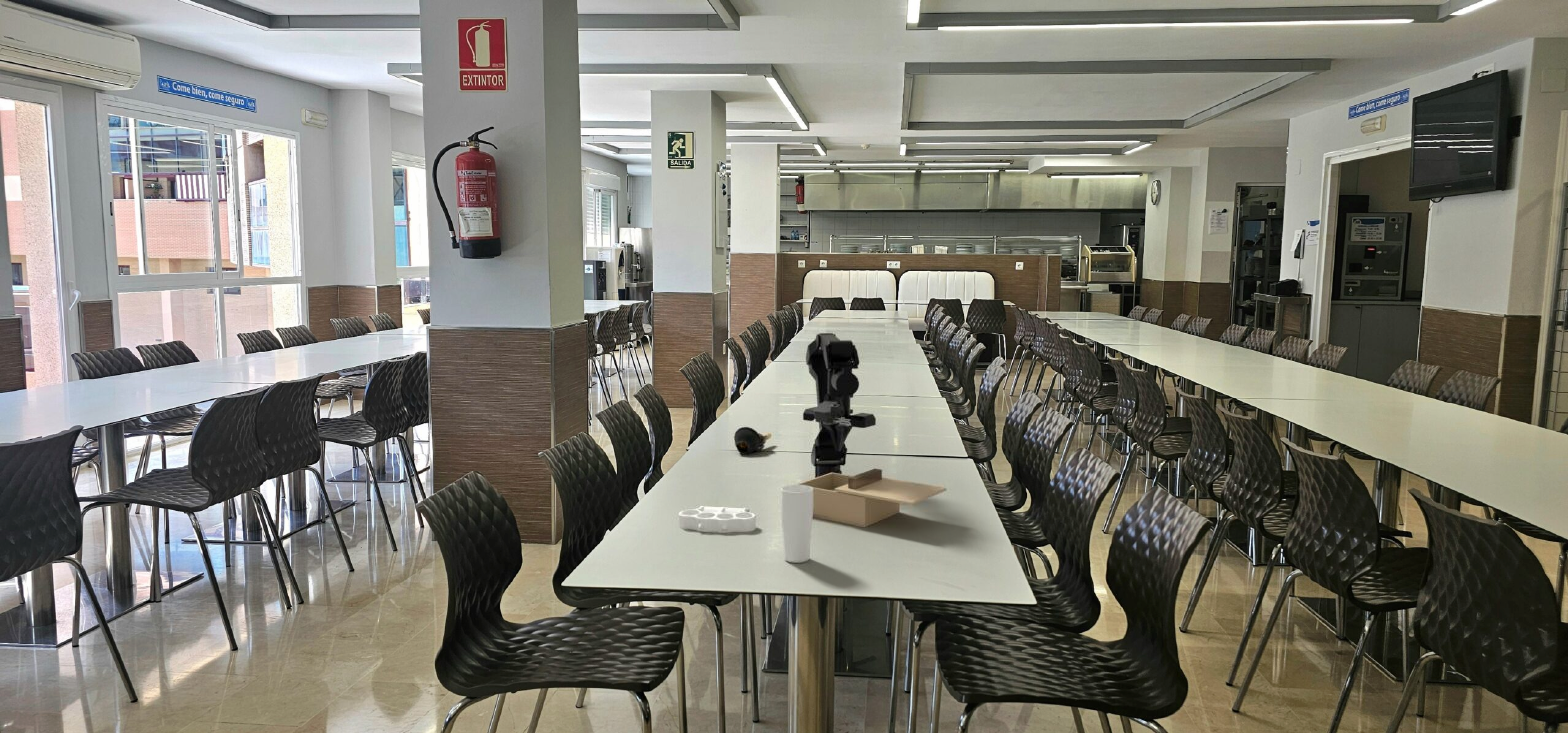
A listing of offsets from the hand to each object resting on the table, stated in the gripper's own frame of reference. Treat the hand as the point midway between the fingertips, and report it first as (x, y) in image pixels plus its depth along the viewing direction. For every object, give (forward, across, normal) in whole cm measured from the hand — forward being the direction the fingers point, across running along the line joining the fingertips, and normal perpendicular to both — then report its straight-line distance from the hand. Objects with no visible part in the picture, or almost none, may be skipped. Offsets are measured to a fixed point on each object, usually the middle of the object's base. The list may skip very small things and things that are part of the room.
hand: (838, 450), depth 236 cm
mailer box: (+13, +8, -8) cm, 17 cm away
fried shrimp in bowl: (+14, -55, +35) cm, 67 cm away
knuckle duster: (+14, -10, -35) cm, 39 cm away
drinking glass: (+13, +19, -44) cm, 50 cm away
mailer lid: (+6, +20, -8) cm, 22 cm away
